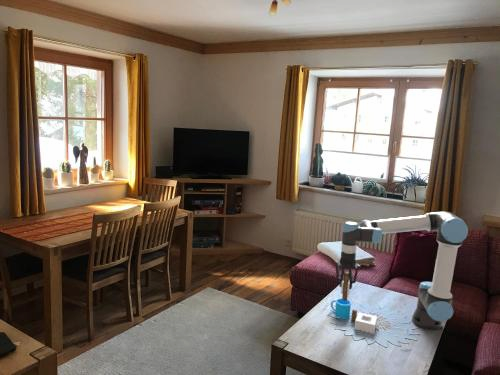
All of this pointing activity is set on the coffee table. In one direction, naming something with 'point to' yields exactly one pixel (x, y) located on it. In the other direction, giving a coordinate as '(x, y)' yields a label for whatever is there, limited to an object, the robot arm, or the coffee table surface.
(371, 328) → the hole block
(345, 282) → the long dowel
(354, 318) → the short dowel
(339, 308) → the mug
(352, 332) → the coffee table surface
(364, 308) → the coffee table surface
